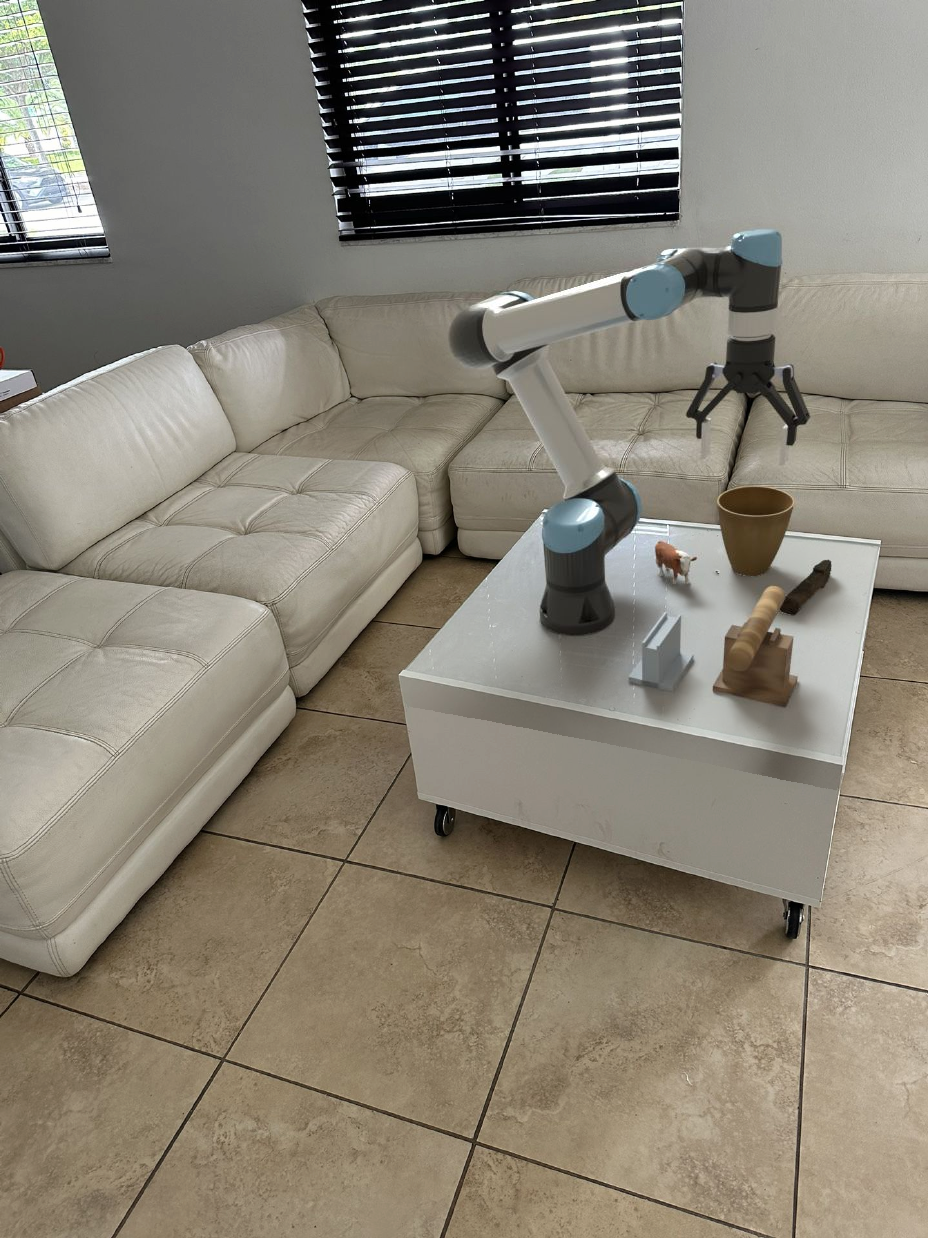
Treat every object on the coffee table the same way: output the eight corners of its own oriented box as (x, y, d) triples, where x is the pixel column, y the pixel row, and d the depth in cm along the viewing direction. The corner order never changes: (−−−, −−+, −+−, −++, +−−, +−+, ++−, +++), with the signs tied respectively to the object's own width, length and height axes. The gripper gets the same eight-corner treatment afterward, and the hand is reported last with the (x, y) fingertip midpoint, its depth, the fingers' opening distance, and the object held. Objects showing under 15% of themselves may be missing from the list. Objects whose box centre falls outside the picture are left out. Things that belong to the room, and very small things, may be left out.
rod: (751, 671, 125) (747, 651, 123) (728, 670, 127) (724, 651, 125) (786, 604, 140) (783, 585, 139) (765, 604, 142) (762, 586, 141)
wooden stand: (712, 690, 139) (715, 636, 133) (726, 665, 144) (729, 613, 139) (785, 707, 133) (791, 651, 127) (797, 681, 138) (803, 626, 133)
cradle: (628, 681, 144) (628, 639, 139) (651, 649, 151) (651, 609, 147) (672, 691, 140) (673, 649, 135) (693, 658, 147) (694, 617, 143)
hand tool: (796, 618, 155) (798, 597, 153) (776, 612, 158) (779, 591, 155) (842, 580, 165) (845, 559, 163) (823, 574, 168) (825, 554, 166)
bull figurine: (681, 596, 167) (682, 561, 163) (650, 569, 178) (650, 536, 174) (700, 591, 167) (702, 556, 163) (668, 565, 179) (669, 531, 175)
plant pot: (699, 565, 177) (702, 497, 169) (754, 547, 181) (759, 480, 173) (745, 593, 165) (750, 521, 157) (803, 573, 169) (811, 502, 161)
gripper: (838, 330, 128) (823, 457, 139) (684, 329, 141) (681, 446, 152) (828, 341, 123) (813, 473, 134) (669, 339, 136) (667, 460, 146)
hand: (743, 459), depth 143 cm, fingers open, 13 cm apart
